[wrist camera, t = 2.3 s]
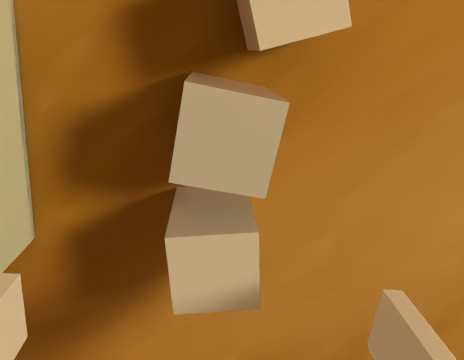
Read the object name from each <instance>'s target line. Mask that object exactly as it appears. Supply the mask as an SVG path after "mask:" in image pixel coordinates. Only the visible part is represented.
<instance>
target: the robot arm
mask: <svg viewBox="0 0 464 360" xmlns="http://www.w3.org/2000/svg"><path fill="white" fill-rule="evenodd" d="M27 337H28V336H27V328H26V319H25V311H24V303H23V294H22V286H21V278H20V274H9V273H0V360H14V358H15V357H16V355H17V353H18V352H19V350H20V348H21V347H22V345H23V344H24V342H25V340H26V339H27ZM367 348H368V350H369V351H370V353H371V355H372V357H373V359H374V360H457V359H456V358H455V357H454V355H453V354H452V353H451V352H450V350H449V349H448V348H447V346H446V345H445V344H444V343H443V341H442V340H441V339H440V338H439V336H438V335H437V334H436V333H435V331H434V330H433V329H432V327H431V326H430V325H429V324H428V322H427V321H426V320H425V319H424V317H423V316H422V315H421V314H420V312H419V311H418V310H417V308H416V307H415V306H414V305H413V303H412V302H411V301H410V300H409V298H408V297H407V296H406V295H405V293H404V292H403V291H402V290H384V289H383V291H382V295H381V298H380V301H379V305H378V308H377V312H376V315H375V319H374V322H373V325H372V329H371V332H370V336H369V339H368V342H367Z"/></svg>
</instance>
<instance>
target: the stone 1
mask: <svg viewBox="0 0 464 360" xmlns="http://www.w3.org/2000/svg"><path fill="white" fill-rule="evenodd" d="M288 107H289V102H288V101H286V100H285V99H283V98H282V97H280V96H279V95H277V94H276V93H275V92H273V91H272V90H270V89H269V88H267V87H264V86H259V85H254V84H250V83H245V82H240V81H235V80H231V79H226V78H221V77H216V76H212V75H207V74H202V73H197V72H191V73H190V75H189V76H188V77H187V79H186V80H185V81H184V88H183V94H182V100H181V107H180V113H179V119H178V126H177V132H176V138H175V144H174V151H173V157H172V163H171V170H170V176H169V183H175V184H181V185H186V186H192V187H198V188H204V189H210V190H216V191H222V192H227V193H233V194H239V195H245V196H251V197H257V198H263V199H265V198H266V194H267V190H268V186H269V182H270V178H271V174H272V170H273V166H274V162H275V158H276V154H277V150H278V147H279V143H280V139H281V135H282V131H283V127H284V123H285V119H286V115H287V111H288Z"/></svg>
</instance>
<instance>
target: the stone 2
mask: <svg viewBox="0 0 464 360" xmlns="http://www.w3.org/2000/svg"><path fill="white" fill-rule="evenodd" d="M165 246H166V255H167V263H168V272H169V280H170V289H171V298H172V306H173V315H179V314H193V313H207V312H221V311H235V310H249V309H260V285H259V232H258V228H257V224H256V220H255V216H254V213H253V209H252V205H251V201H250V197H249V196H245V195H239V194H233V193H227V192H222V191H216V190H210V189H204V188H198V187H192V186H190V187H177V188H176V192H175V197H174V201H173V205H172V209H171V213H170V218H169V222H168V226H167V230H166V234H165Z"/></svg>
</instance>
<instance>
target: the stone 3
mask: <svg viewBox="0 0 464 360" xmlns="http://www.w3.org/2000/svg"><path fill="white" fill-rule="evenodd" d="M237 5H238V9H239V14H240V18H241V23H242V27H243V32H244V36H245V41H246V45H247V50H251V51H262V50H265V49H269V48H273V47H277V46H280V45H284V44H288V43H292V42H295V41H299V40H303V39H306V38H310V37H314V36H318V35H321V34H325V33H329V32H333V31H336V30H340V29H344V28H348V27H351V26H352V25H351V17H350V9H349V1H348V0H237Z"/></svg>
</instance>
